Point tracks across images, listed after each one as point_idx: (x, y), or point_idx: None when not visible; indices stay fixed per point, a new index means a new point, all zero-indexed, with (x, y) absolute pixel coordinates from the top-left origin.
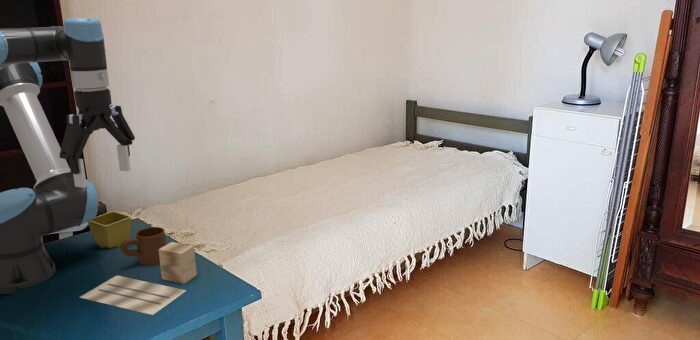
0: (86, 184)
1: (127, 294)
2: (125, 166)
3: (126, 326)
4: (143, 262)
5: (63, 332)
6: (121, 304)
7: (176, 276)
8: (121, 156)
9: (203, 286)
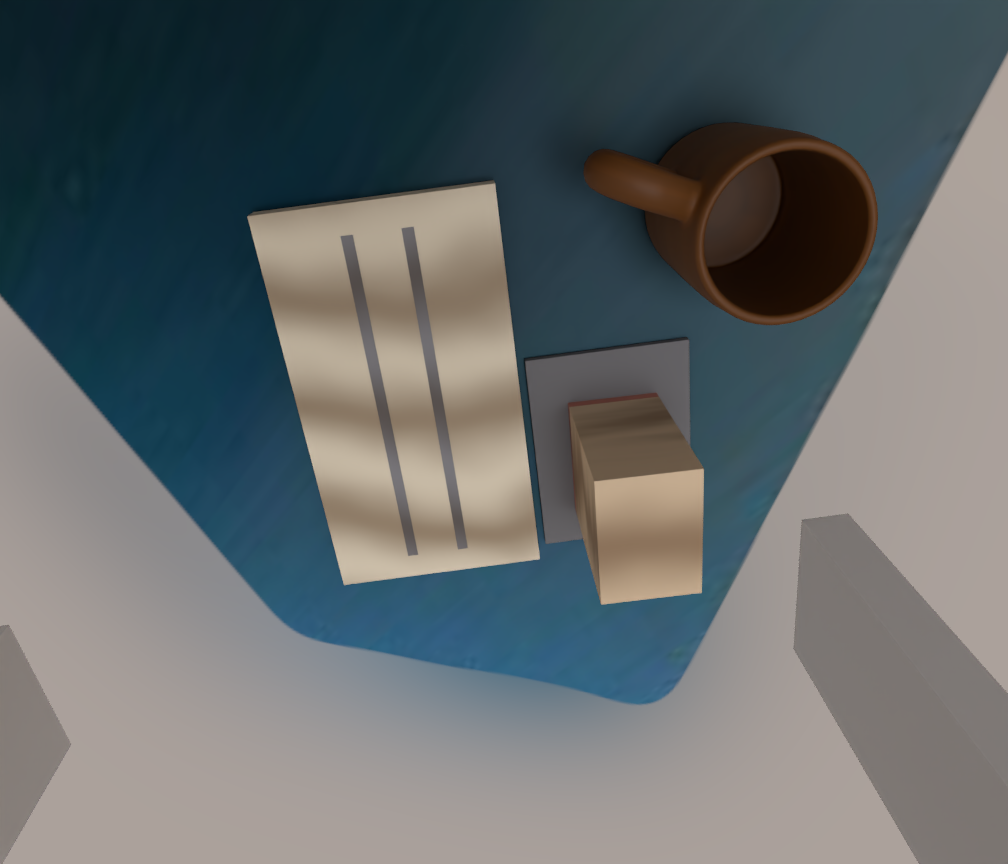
0: (54, 771)
1: (392, 390)
2: (830, 666)
3: (262, 531)
4: (649, 218)
5: (84, 375)
6: (324, 436)
7: (579, 498)
8: (925, 758)
9: None
